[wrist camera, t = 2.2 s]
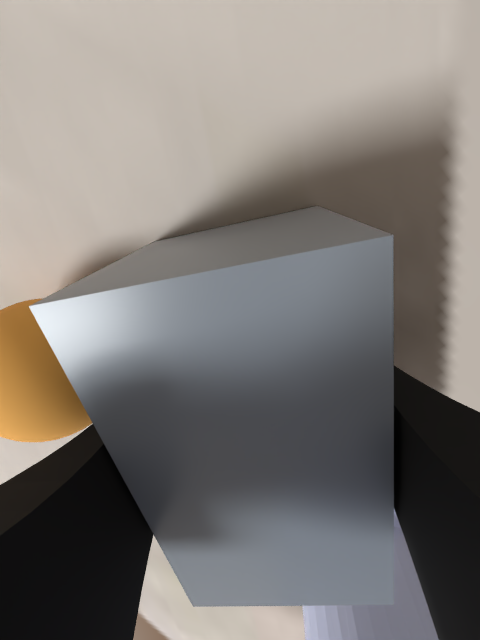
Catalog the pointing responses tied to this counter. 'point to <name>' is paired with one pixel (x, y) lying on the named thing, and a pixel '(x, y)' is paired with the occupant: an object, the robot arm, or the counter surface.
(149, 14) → the counter surface
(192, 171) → the counter surface
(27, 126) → the counter surface
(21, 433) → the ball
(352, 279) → the tall gray prism
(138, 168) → the counter surface
